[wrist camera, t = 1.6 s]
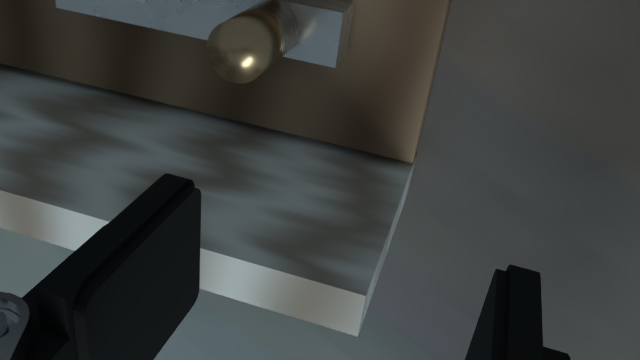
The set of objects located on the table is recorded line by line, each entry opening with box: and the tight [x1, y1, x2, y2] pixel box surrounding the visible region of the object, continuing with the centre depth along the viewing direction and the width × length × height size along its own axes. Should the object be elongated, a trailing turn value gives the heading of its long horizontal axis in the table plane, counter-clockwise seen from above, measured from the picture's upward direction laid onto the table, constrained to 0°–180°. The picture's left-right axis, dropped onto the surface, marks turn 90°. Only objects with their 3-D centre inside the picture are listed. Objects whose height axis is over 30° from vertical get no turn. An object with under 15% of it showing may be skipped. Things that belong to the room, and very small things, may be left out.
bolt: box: [55, 0, 354, 84], centre depth 26 cm, size 14×2×6 cm, turn 83°
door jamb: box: [0, 0, 452, 337], centre depth 27 cm, size 32×14×12 cm, turn 83°
